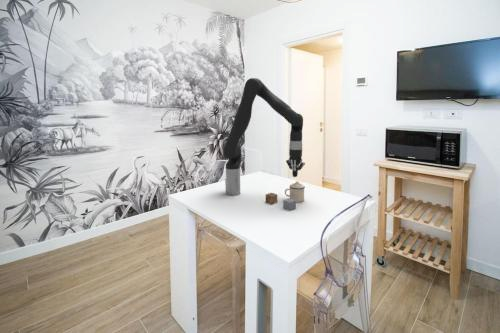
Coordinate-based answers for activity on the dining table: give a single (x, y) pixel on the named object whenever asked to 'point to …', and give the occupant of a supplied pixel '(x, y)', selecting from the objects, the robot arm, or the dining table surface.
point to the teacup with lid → (296, 192)
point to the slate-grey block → (289, 204)
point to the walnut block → (271, 198)
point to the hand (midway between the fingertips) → (294, 176)
